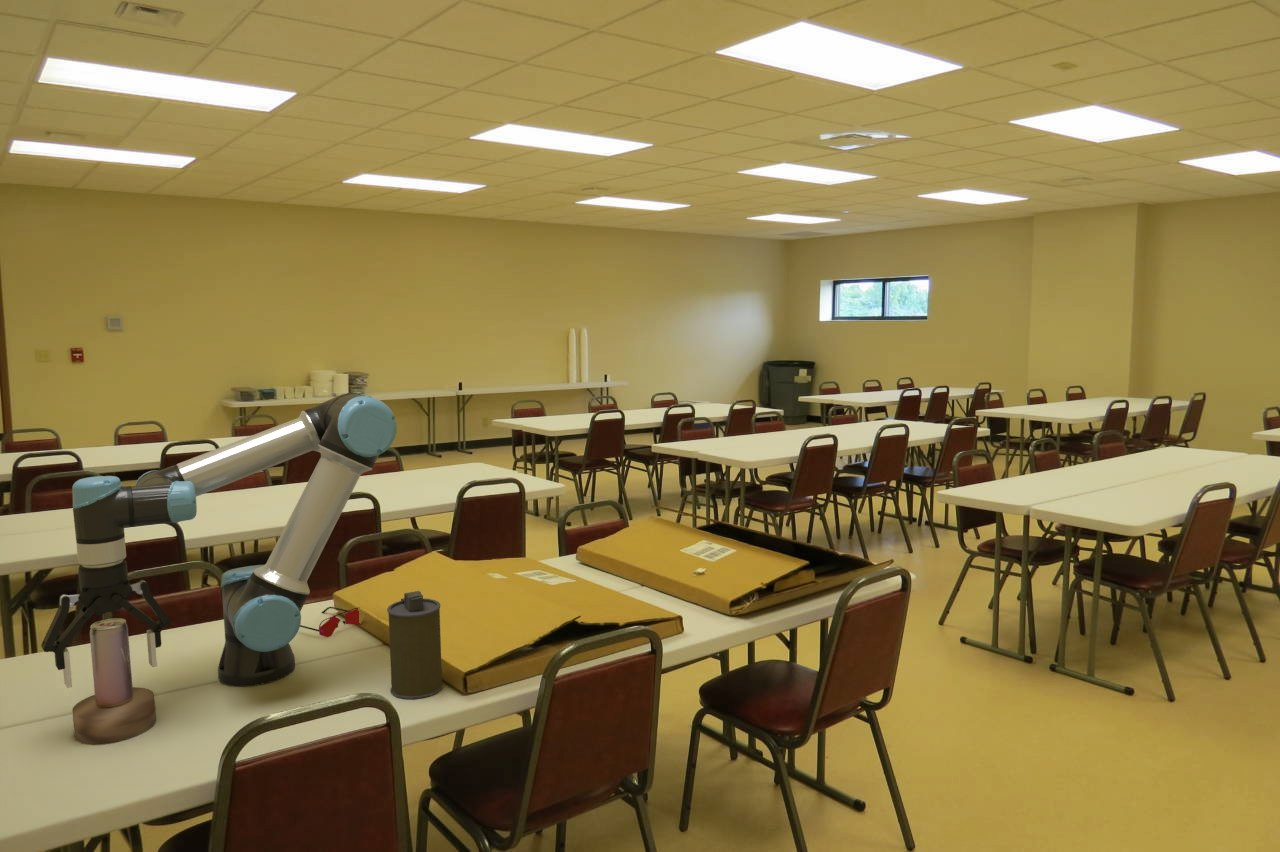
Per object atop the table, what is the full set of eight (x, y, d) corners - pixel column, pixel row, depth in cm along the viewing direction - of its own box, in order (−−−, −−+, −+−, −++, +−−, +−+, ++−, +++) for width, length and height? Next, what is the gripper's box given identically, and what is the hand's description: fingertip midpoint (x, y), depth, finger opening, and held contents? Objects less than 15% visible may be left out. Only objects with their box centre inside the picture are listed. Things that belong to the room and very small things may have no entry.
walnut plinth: (171, 713, 168) (169, 688, 167) (123, 746, 155) (121, 719, 154) (109, 710, 169) (107, 685, 169) (56, 742, 156) (54, 715, 156)
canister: (450, 692, 177) (446, 596, 174) (398, 703, 171) (394, 605, 169) (433, 673, 186) (430, 582, 184) (384, 684, 181) (380, 590, 178)
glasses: (321, 642, 206) (320, 622, 205) (275, 630, 214) (274, 610, 213) (367, 624, 217) (366, 605, 217) (322, 613, 226) (321, 595, 225)
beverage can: (106, 695, 164) (99, 618, 162) (139, 694, 165) (133, 617, 163) (89, 709, 158) (82, 629, 157) (123, 708, 159) (117, 628, 157)
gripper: (172, 546, 169) (180, 651, 172) (15, 571, 153) (26, 687, 155) (183, 553, 164) (191, 662, 166) (22, 580, 147) (33, 701, 150)
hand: (111, 674), depth 161 cm, fingers open, 13 cm apart
